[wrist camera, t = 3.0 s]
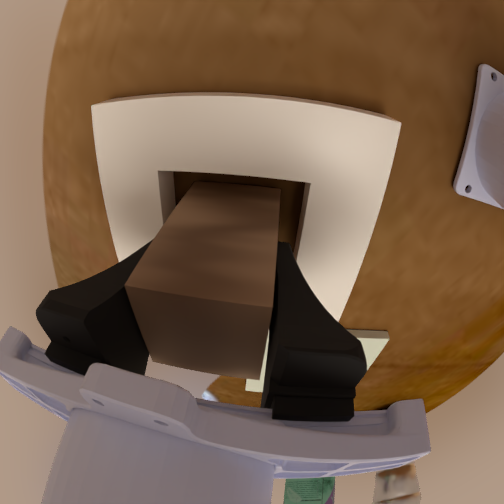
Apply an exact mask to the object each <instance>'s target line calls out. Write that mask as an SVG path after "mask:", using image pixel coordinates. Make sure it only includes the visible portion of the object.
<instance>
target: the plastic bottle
mask: <svg viewBox="0 0 504 504" xmlns="http://www.w3.org/2000/svg"><path fill="white" fill-rule="evenodd" d="M414 463H415V460H414V461H412V462H410V463H407V464H405V465H403V466H400V467H397V468H391V469H386V470H379V471H376V478H375V479H376V480H375V491H374V497H373V504H420V500H421V493H420V488H419V484H418V479H417V475H416V467H415V465H414Z"/></svg>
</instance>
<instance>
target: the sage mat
mask: <svg viewBox="0 0 504 504" xmlns="http://www.w3.org/2000/svg"><path fill="white" fill-rule="evenodd" d="M346 330H347V331H349V332H350V333H351V334H352V335H354V336H355V337H356V338H357V339H359V340H360V341H361V343H362V346H363V349H364V353H365V356H366V361H367V370H368V369H369V367H370V366H371V365H372V363H373V362H374V360H375V359H376V358H377V356H378V355H379V353H380V352H381V351H382V349H383V348H384V346H385V345H386V343H387V342H388V340H389V335H388V331H370V330H350V329H346ZM268 341H269V332H268V337H267V343H266V348H265V354H264V359H263V365H262V370H261V375H260V380H253V379H247V381H246V390H247V391H255V392H263V385H264V377H265V368H266V360H267V351H268Z"/></svg>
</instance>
